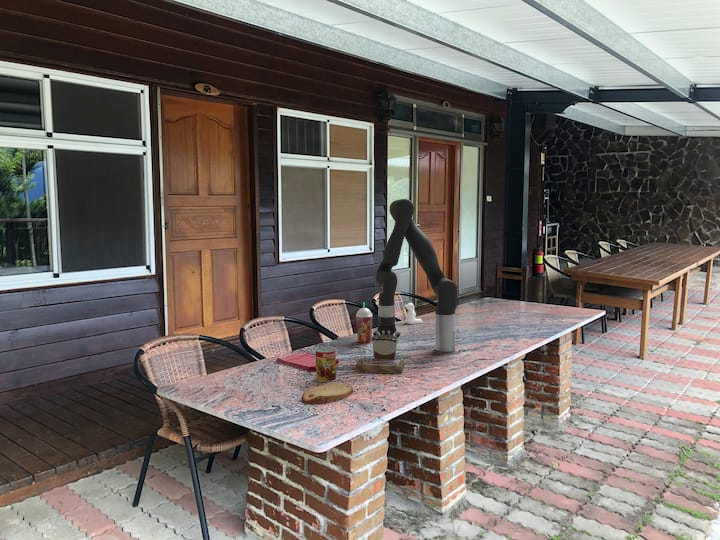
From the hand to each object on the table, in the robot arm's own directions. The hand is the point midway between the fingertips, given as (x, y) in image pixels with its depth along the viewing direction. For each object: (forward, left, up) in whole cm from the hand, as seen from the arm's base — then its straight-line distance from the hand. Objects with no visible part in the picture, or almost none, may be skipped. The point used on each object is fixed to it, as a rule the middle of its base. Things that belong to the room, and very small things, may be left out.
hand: (387, 352), depth 270 cm
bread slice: (+13, +57, -2) cm, 58 cm away
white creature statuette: (-4, -73, -2) cm, 73 cm away
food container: (0, +3, -2) cm, 4 cm away
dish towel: (+33, +16, -2) cm, 36 cm away
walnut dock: (0, +20, -2) cm, 21 cm away
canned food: (+19, +37, -2) cm, 42 cm away
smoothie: (+15, -25, -2) cm, 29 cm away
